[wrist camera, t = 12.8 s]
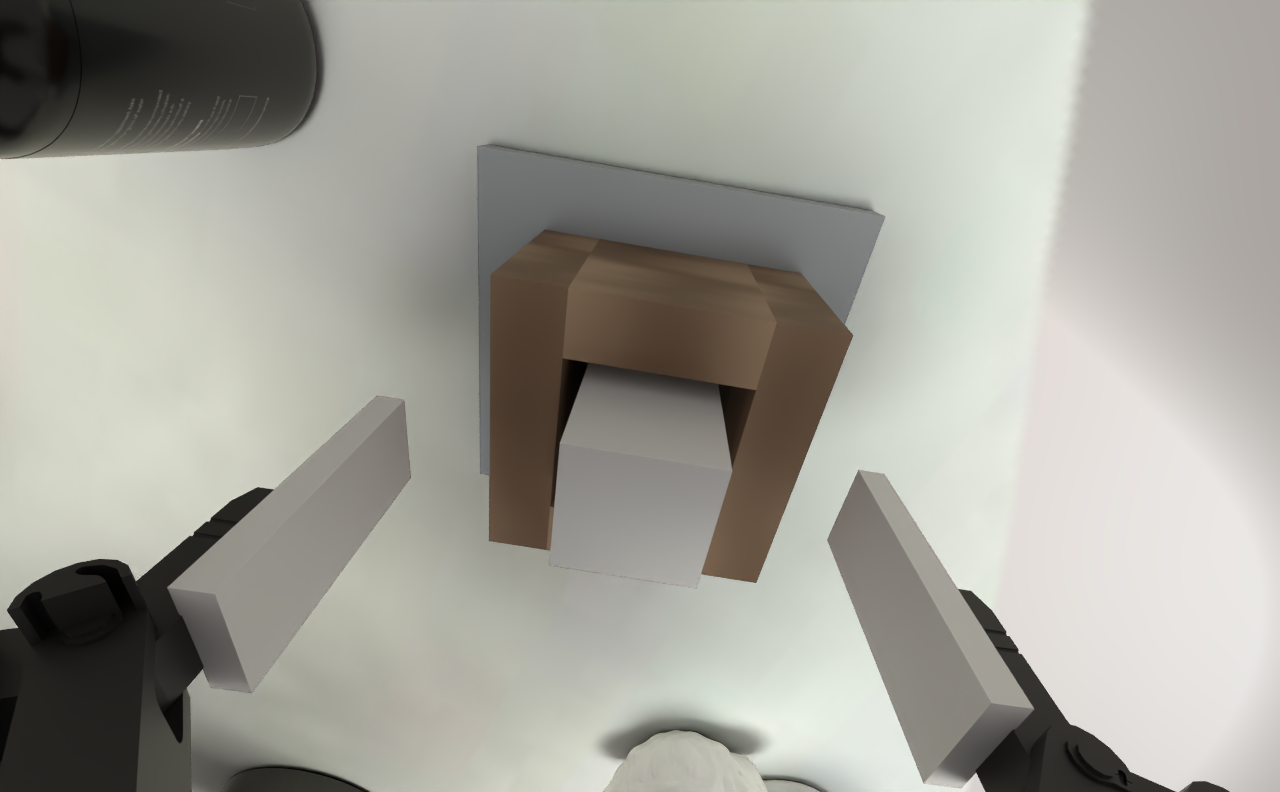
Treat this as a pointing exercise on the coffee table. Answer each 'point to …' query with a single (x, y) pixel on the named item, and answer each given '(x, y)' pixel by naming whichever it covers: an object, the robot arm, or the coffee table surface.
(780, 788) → the supplement tub
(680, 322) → the collar
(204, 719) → the coffee table surface
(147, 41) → the supplement bottle
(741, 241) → the post block
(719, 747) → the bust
